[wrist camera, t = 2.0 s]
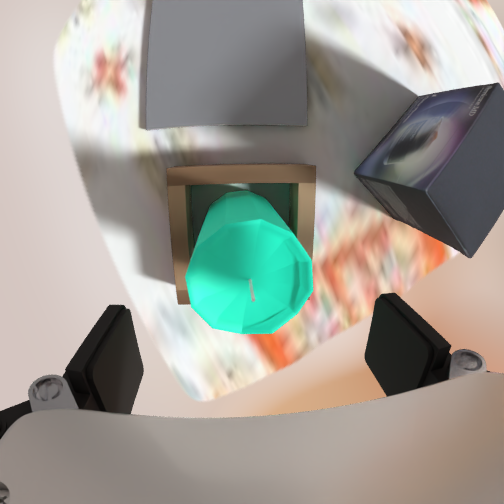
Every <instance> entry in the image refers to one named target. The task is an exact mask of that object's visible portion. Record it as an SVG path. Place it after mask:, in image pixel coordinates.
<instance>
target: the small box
mask: <svg viewBox="0 0 504 504" xmlns="http://www.w3.org/2000/svg"><path fill="white" fill-rule="evenodd" d="M354 174H355V176H356V177H357V178H358V179H359V180H360V181H361V182H362V183H363V184H364V186H365V187H366V188H367V189H368V190H369V191H370V192H371V193H372V194H373V195H374V197H375V198H376V199H377V200H378V201H379V202H380V203H381V204H382V205H383V207H384V208H385V209H386V210H387V211H388V212H389V214H390V215H391V216H392V217H393V218H394V219H395V220H397V221H401V222H403V223H405V224H408V225H409V226H411V227H413V228H416V229H418V230H420V231H422V232H423V233H425V234H427V235H429V236H431V237H433V238H435V239H437V240H439V241H442V242H443V243H445V244H447V245H449V246H451V247H453V248H454V249H455V250H458V251H460V252H461V253H462V254H463V255H465V256H467V257H468V258H472V256H473V255H474V254H475V252H476V251H477V250H478V248H479V247H480V245H481V244H482V242H483V241H484V239H485V238H486V236H487V235H488V233H489V232H490V230H491V229H492V227H493V226H494V224H495V223H496V221H497V220H498V218H499V216H500V215H501V213H502V212H503V210H504V90H503V88H502V87H501V85H500V84H499V83H494V84H488V85H480V86H473V87H467V88H461V89H455V90H449V91H444V92H439V93H433V94H428V95H423V96H419V97H418V98H417V99H416V100H415V102H414V103H413V104H412V105H411V106H410V108H409V109H408V110H407V111H406V112H405V113H404V115H403V116H402V117H401V118H400V119H399V121H398V122H397V123H396V124H395V125H394V126H393V128H392V129H391V130H390V131H389V132H388V134H387V135H386V136H385V137H384V138H383V139H382V141H381V142H380V143H379V144H378V145H377V146H376V148H375V149H374V150H373V151H372V152H371V153H370V155H369V156H368V157H367V158H366V159H365V160H364V161H363V163H362V164H361V165H360V166H359V167H358V168H357V169H356V171H355V172H354Z"/></svg>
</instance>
